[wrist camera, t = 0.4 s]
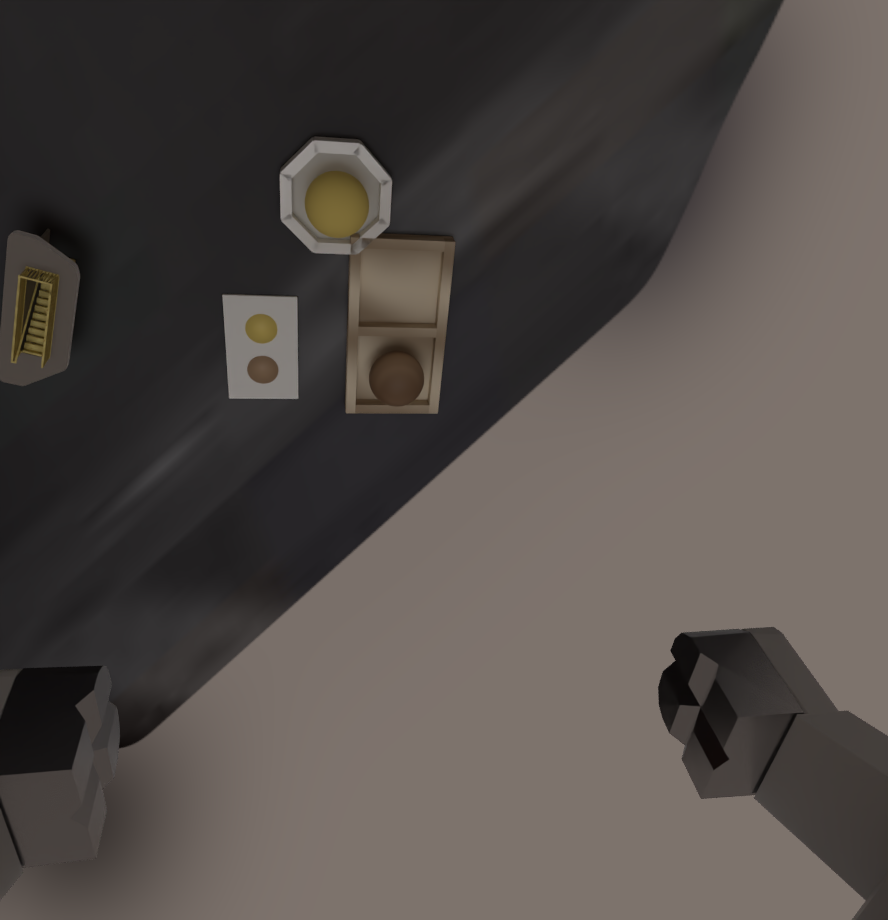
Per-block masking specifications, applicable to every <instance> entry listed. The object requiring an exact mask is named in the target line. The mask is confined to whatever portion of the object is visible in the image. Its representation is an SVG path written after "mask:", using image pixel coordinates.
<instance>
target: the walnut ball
mask: <svg viewBox="0 0 888 920" xmlns="http://www.w3.org/2000/svg"><path fill="white" fill-rule="evenodd" d="M369 384H370V388H371V390H372V392H373V394H374V395H375V397H376V398H377V399H378V400H380V401H381V402H382V403H384V404H386V405H389V406H395V407H399V406H404V405H407V404H409V403H411V402H413V401H414V400H415V399H416V398H417V397H418V396H419V395H420V393H421V391H422V389H423V386H424V372H423V369H422V367H421V365H420V363H419V362H418V361H417V360H416V359H415V358H414V357H413V356H412V355H410V354H408V353H406V352H402V351H391V352H387V353H385V354H383V355H381V356H380V357H379V358H377V359H376V361H375V362H374V363H373V365H372V367H371V369H370V373H369Z"/></svg>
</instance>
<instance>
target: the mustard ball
mask: <svg viewBox="0 0 888 920" xmlns="http://www.w3.org/2000/svg"><path fill="white" fill-rule="evenodd" d="M305 210H306V214H307V217H308V219H309V221H310V222H311V224H312V225H313V226H314V227H315V228H316V229H317V230H318V231H319V232H320V233H322V234H324V235H326V236H329V237H333V238H344V237H348V236H350V235H352V234H354V233H356V232H357V231H358V230H359V229H360V228H361V227H362V226H363V224H364V223H365V221H366V219H367V216H368V212H369V199H368V195H367V192H366V190H365V188H364V187H363V185H362V184H361V183H360V181H359V180H358V179H356V178H355V177H354V176H352V175H350V174H348V173H346V172H342V171H329V172H325V173H323V174H321V175H319V176H318V177H316V178H315V179H314V180H313V181H312V182H311V184H310V185H309V187H308V189H307V192H306V196H305Z"/></svg>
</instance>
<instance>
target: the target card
mask: <svg viewBox="0 0 888 920" xmlns="http://www.w3.org/2000/svg"><path fill="white" fill-rule="evenodd" d="M222 296H223V311H224V326H225V342H226V357H227V373H228V388H229V398H241V399H298V314H297V296H275V295H243V294H223V295H222Z"/></svg>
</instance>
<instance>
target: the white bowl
mask: <svg viewBox="0 0 888 920" xmlns="http://www.w3.org/2000/svg"><path fill="white" fill-rule="evenodd" d="M329 171H342V172H346V173H348V174H350V175H352V176H354V177H355V178H356V179H358V180H359V181H360V183H361V184H362V185H363V187H364V188H365V190H366V192H367V195H368V199H369V212H368V216H367V219H366V221H365V223H364V224H363V226H362V227H361V228H360V229H359V230H358V231H357V232H356V233H359V234H360V239H358V240H357V241H356V242H355V243H354V244H353V245H352V244H351V243H350V236H348V237H344V238H333V237H329V236H326V235H324V234H322V233H320V232H319V231H318V230H317V229H316V228H315V227H314V226H313V225H312V224H311V222H310V221H309V219H308V217H307V214H306V210H305V196H306V192H307V189H308V187H309V185H310V184H311V182H312V181H313V180H314V179H315V178H316V177H318V176H319V175H321V174H323V173H325V172H329ZM391 193H392V179H391V176H390V174H389V173H388V172H387V171H386V170H385V168H384V167H383V166H382V165H381V164H380V163H379V161H378V160H377V159H376V158H375V157H374V156H373V154H372V153H371V152H370V151H369V150H368V149H367V147H366V146H365V145H364V144H363V143H362V142H361V140H360V141H359V139H346V138H331V137H317V136H314V138H313V137H312V138H311V139H310V140H309V141H308V142H307V143H306V144H305V145H304V146H303V147H302V148H300V149H299V150H298V151H297V152H296V153H295V154H294V155H293V156H292V157H291V158H290V159H289V160H288V161H287V162H286V163H285V164H284V165H283V166H282V167H281V169H280V211H281V221H282V222H283V223H284V224H285V225H286V226H287V227H288V228H289V229H290V230H291V231H292V232H293V233H294V234H295V235H296V236H297V237H298V238H299V239H300V240H301V241H302V242H303V243H304V244H305V245H306V246H307V247H308V248H309V249H310V250H311V251H312V252H314V253H326V254H351V253H352V254H353V255H357V253H358V254H359V253H360V252H361V251H362V250H363V249H364V248H363V247H366V245H368V244H366V242H365V244H366V245H365V246H364V244H363V247H362V246H361V245H362V244H361V243H362V239H364V238H369V239H368V240H370V238H372V239H373V238H376V237H377V236H379V235H380V234H381V233H382V232H383V231H384V230H385V229H386V228H387V227H388V226H389V225H390V211H391ZM359 240H360V242H361V243H360V242H358V241H359ZM364 241H365V240H364ZM368 242H370V241H368ZM358 243H359V244H358ZM357 244H358V245H357ZM369 244H370V243H369ZM351 245H352V246H351ZM352 247H353V248H352ZM351 248H352V249H351ZM354 248H355V249H354ZM359 248H361V249H359ZM358 250H360V251H358ZM351 251H352V252H351ZM353 251H355V253H354V252H353Z"/></svg>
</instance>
